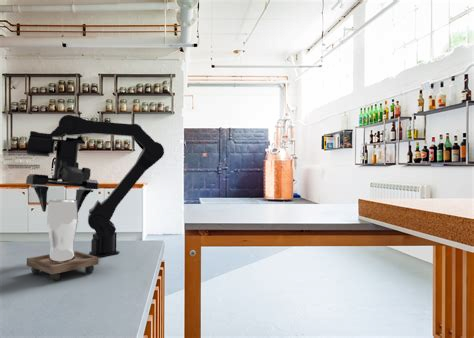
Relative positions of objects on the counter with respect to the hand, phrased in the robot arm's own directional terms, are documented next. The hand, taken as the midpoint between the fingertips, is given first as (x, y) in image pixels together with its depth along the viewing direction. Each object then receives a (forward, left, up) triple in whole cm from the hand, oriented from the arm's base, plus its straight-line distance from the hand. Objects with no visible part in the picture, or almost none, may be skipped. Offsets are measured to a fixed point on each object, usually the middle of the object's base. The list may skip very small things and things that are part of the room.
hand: (60, 212), depth 114 cm
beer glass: (+8, +15, -10) cm, 20 cm away
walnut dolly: (+8, +15, -13) cm, 22 cm away
